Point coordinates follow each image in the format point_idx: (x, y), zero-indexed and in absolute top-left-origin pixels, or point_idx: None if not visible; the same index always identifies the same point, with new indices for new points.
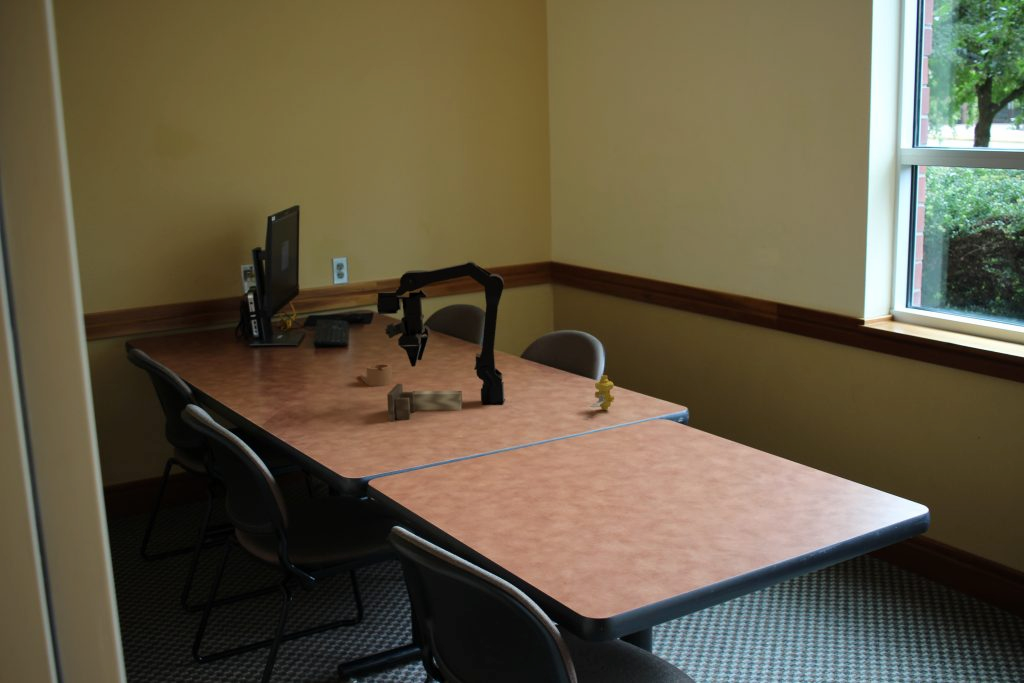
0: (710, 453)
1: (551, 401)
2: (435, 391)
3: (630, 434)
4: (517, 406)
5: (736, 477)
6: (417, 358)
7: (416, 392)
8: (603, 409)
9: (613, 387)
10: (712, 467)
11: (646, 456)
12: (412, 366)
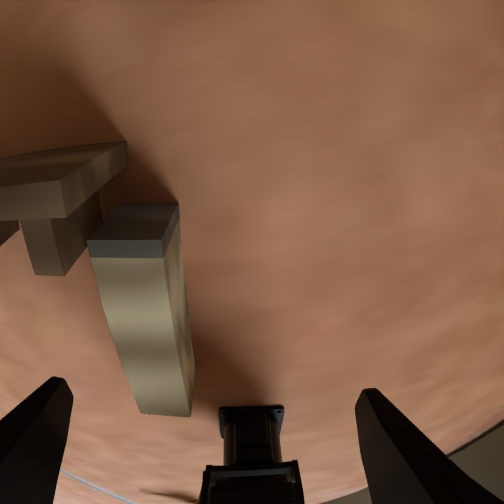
0: (57, 498)
1: None
2: (165, 347)
3: (83, 491)
4: (208, 451)
5: None
6: (369, 400)
7: (130, 266)
8: (194, 502)
9: None
10: None
11: None
12: (57, 379)
